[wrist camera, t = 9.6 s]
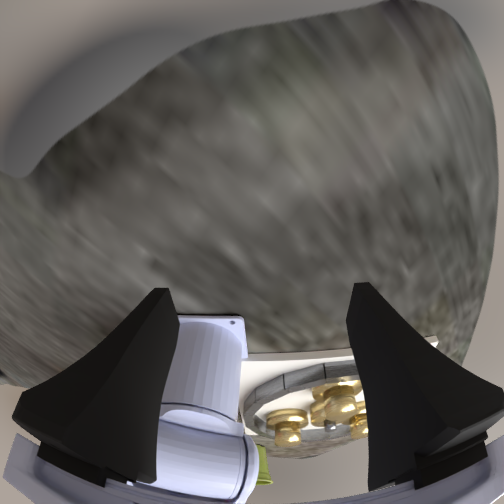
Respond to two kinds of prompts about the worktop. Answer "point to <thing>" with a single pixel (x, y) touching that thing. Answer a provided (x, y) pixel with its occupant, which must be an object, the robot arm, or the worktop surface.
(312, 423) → the sun and planets
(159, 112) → the worktop surface
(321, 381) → the ring gear
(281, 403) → the board
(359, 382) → the gear
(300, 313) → the worktop surface
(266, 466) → the plant pot
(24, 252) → the worktop surface
